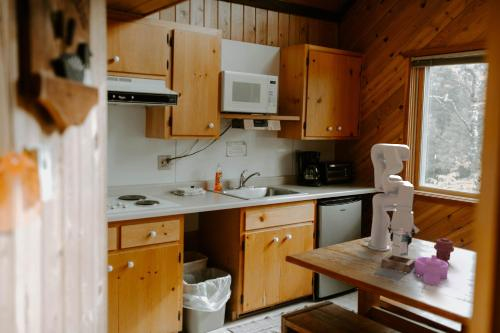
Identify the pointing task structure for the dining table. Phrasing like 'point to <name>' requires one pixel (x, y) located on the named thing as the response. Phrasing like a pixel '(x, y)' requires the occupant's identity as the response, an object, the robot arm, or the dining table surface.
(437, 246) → the mechanical component
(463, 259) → the dining table surface
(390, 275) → the rubber mat
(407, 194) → the robot arm
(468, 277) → the dining table surface
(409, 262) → the socket collar
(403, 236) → the syrup box
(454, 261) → the dining table surface
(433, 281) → the container set
